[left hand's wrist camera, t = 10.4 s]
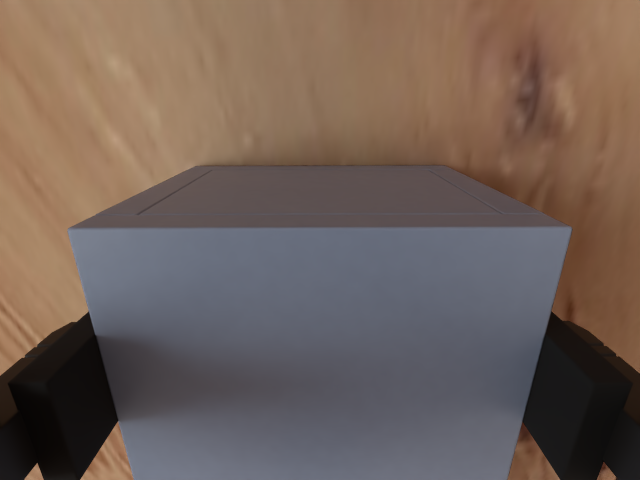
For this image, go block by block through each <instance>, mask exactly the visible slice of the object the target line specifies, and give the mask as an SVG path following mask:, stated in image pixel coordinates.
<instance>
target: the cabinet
mask: <svg viewBox="0 0 640 480" xmlns="http://www.w3.org/2000/svg"><path fill="white" fill-rule="evenodd" d="M571 233H572V227H570V226H568V225H566V224H564V223H562V222H560V221H558V220H556V219H554V218H552V217H550V216H548V215H546V214H544V213H542V212H540V211H538V210H536V209H534V208H532V207H530V206H528V205H526V204H524V203H522V202H520V201H517V200H515V199H513V198H511V197H509V196H507V195H505V194H503V193H501V192H499V191H497V190H495V189H493V188H491V187H488V186H486V185H484V184H482V183H480V182H478V181H476V180H474V179H472V178H470V177H468V176H466V175H464V174H462V173H459V172H457V171H455V170H453V169H451V168H449V167H447V166H445V165H411V166H195V167H193V168H191V169H189V170H186V171H184V172H182V173H180V174H178V175H176V176H174V177H172V178H170V179H168V180H166V181H164V182H162V183H160V184H158V185H156V186H154V187H151V188H149V189H147V190H145V191H143V192H141V193H139V194H137V195H135V196H133V197H131V198H129V199H127V200H125V201H123V202H121V203H119V204H116V205H114V206H112V207H110V208H108V209H106V210H104V211H102V212H100V213H98V214H96V215H95V216H93V217H90V218H88V219H86V220H84V221H82V222H80V223H78V224H76V225H74V226H72V227H70V228H68V234H69V238H70V242H71V246H72V249H73V253H74V257H75V261H76V264H77V268H78V272H79V276H80V279H81V283H82V287H83V291H84V294H85V298H86V302H87V306H88V309H89V313H90V317H91V321H92V324H93V328H94V332H95V336H96V339H97V343H98V347H99V351H100V354H101V358H102V362H103V366H104V369H105V373H106V377H107V381H108V384H109V388H110V392H111V396H112V399H113V403H114V407H115V411H116V414H117V418H118V422H119V426H120V429H121V433H122V437H123V441H124V444H125V448H126V452H127V456H128V459H129V463H130V467H131V471H132V474H133V478H134V480H507V479H508V475H509V471H510V468H511V464H512V460H513V456H514V452H515V448H516V445H517V441H518V437H519V433H520V429H521V425H522V422H523V418H524V414H525V410H526V406H527V402H528V398H529V395H530V391H531V387H532V383H533V379H534V375H535V372H536V368H537V364H538V360H539V356H540V352H541V349H542V345H543V341H544V337H545V333H546V329H547V325H548V322H549V318H550V314H551V310H552V306H553V302H554V299H555V295H556V291H557V287H558V283H559V279H560V276H561V272H562V268H563V264H564V260H565V256H566V253H567V249H568V245H569V241H570V237H571Z"/></svg>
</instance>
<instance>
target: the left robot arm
mask: <svg viewBox="0 0 640 480" xmlns="http://www.w3.org/2000/svg"><path fill="white" fill-rule="evenodd" d="M117 422H118V418H117V414H116V411H115V407H114V403H113V399H112V396H111V392H110V388H109V384H108V381H107V377H106V373H105V369H104V366H103V362H102V358H101V354H100V351H99V347H98V343H97V339H96V336H95V332H94V328H93V324H92V321H91V317H90V313H89V312H88V313H87V314H85V315H84V316H83V317H82V318H81V319H80V320H79V321H77V322H71V323H69V324H67V325H65V326H63V327H62V328H60V329H58V330H56V331H54V332H52V333H51V334H50V335H49V336H47V337H46V338H45V339H44V340H43V341H41V342H40V343H39V344H38V345H37V347H34V348H33V349H32V350H31V351H29V352H28V353H27V354H26V355H25V358H21V359H20V360H19V361H18V362H16V363H15V364H14V365H13V366H12V367H10V368H9V369H8V370H7V371H6V372H4V373H3V374H2V375H1V376H0V480H24V479H25V477H26V476H27V475H28V474H29V472H30V471H31V470H32V469H33V467H34V466H35V465H36V464H37V463H38V465H39V468H40V471H41V473H42V476H43V479H44V480H80V479H81V477H82V476H83V474H84V473H85V471H86V470H87V468H88V467H89V465H90V463H91V462H92V460H93V459H94V457H95V456H96V454H97V453H98V451H99V450H100V448H101V446H102V445H103V443H104V442H105V440H106V439H107V437H108V436H109V434H110V433H111V431H112V429H113V428H114V426H115V425H116V423H117ZM523 423H524V424H525V426H526V427H527V429H528V430H529V432H530V433H531V435H532V437H533V438H534V440H535V441H536V443H537V444H538V446H539V447H540V449H541V450H542V452H543V454H544V455H545V457H546V458H547V460H548V461H549V463H550V464H551V466H552V468H553V469H554V471H555V472H556V474H557V475H558V477H559V478H560V480H597V477H598V475H599V472H600V469H601V467H602V464H603V462H605V464H606V465H607V466H608V467H609V469H610V470H611V471H612V472H613V474H614V475H615V476H616V477H617V478H616V480H640V373H638V372H637V371H636V370H635V369H633V368H632V367H631V366H630V365H629V364H627V363H626V362H625V361H624V360H623V359H621V358H620V357H617V356H616V354H615V353H614V352H613V351H612V350H611V349H609V348H608V347H607V346H604V344H603V343H602V342H601V341H600V340H599V339H597V338H596V337H595V336H594V335H593V334H591V333H590V332H589V331H587V330H585V329H583V328H581V327H580V326H578V325H576V324H574V323H572V322H570V321H562V320H561V319H560V318H558V317H557V316H556V315H555V314H554V313H553V312H552V311H551V314H550V318H549V322H548V325H547V329H546V333H545V337H544V341H543V345H542V349H541V352H540V356H539V360H538V364H537V368H536V372H535V375H534V379H533V383H532V387H531V391H530V395H529V398H528V402H527V406H526V410H525V414H524V418H523Z"/></svg>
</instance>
